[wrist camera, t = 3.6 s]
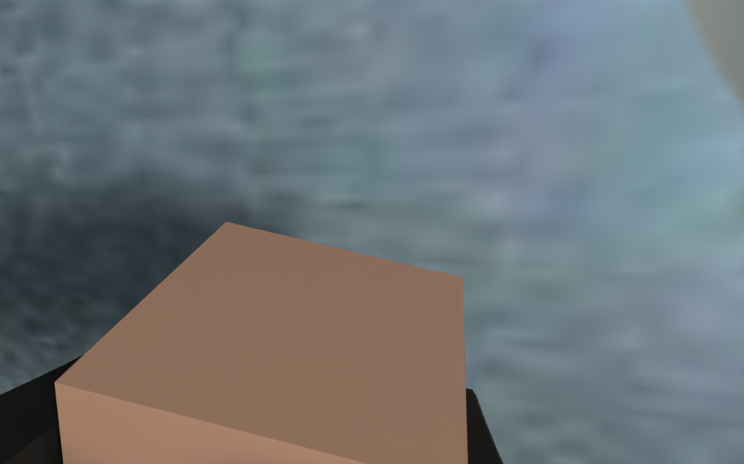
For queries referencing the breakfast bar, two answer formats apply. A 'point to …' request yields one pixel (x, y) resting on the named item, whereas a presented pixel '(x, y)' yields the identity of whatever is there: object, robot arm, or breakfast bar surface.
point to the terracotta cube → (275, 363)
